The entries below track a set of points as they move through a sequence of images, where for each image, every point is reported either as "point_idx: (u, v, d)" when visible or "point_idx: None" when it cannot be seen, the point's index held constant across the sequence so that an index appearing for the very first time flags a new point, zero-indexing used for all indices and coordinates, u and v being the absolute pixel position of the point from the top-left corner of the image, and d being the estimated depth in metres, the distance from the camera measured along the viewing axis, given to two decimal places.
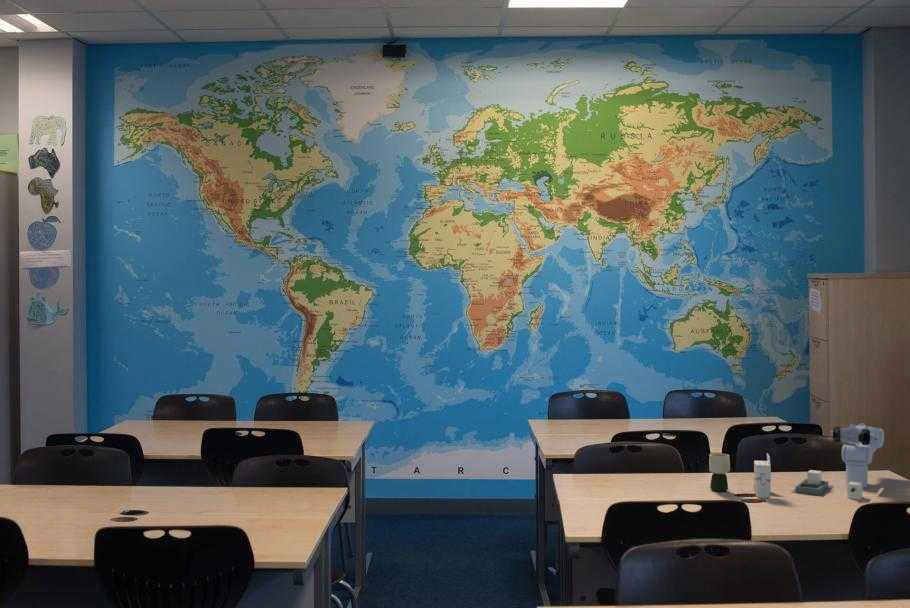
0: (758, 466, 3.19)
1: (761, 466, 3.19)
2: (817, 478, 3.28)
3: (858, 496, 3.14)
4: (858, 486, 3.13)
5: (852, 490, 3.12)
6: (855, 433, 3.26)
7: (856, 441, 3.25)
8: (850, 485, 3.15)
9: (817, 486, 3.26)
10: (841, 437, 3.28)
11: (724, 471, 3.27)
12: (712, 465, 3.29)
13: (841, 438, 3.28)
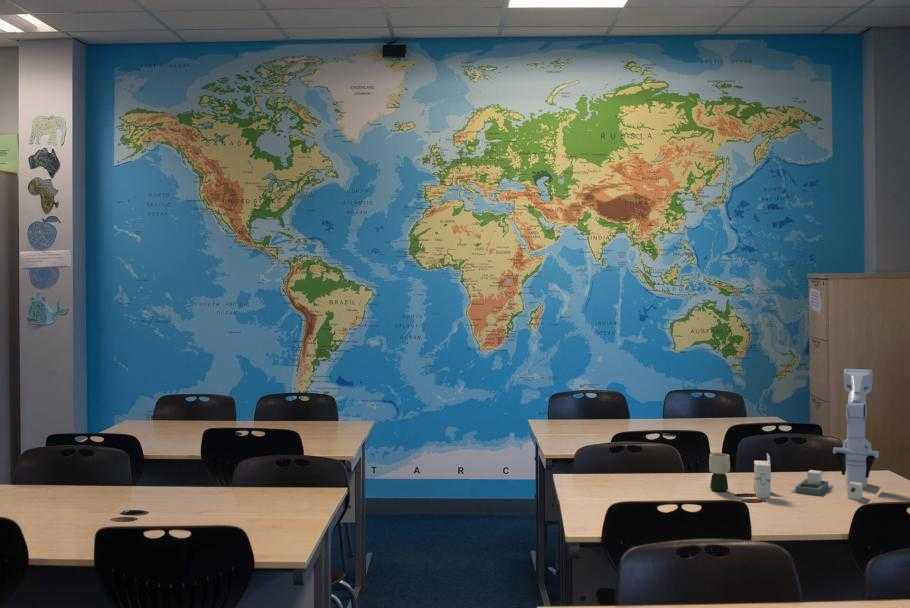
0: (758, 466, 3.19)
1: (761, 466, 3.19)
2: (817, 478, 3.28)
3: (858, 496, 3.14)
4: (858, 486, 3.13)
5: (852, 490, 3.12)
6: None
7: None
8: (850, 485, 3.15)
9: (817, 486, 3.26)
10: None
11: (724, 471, 3.27)
12: (712, 465, 3.29)
13: None
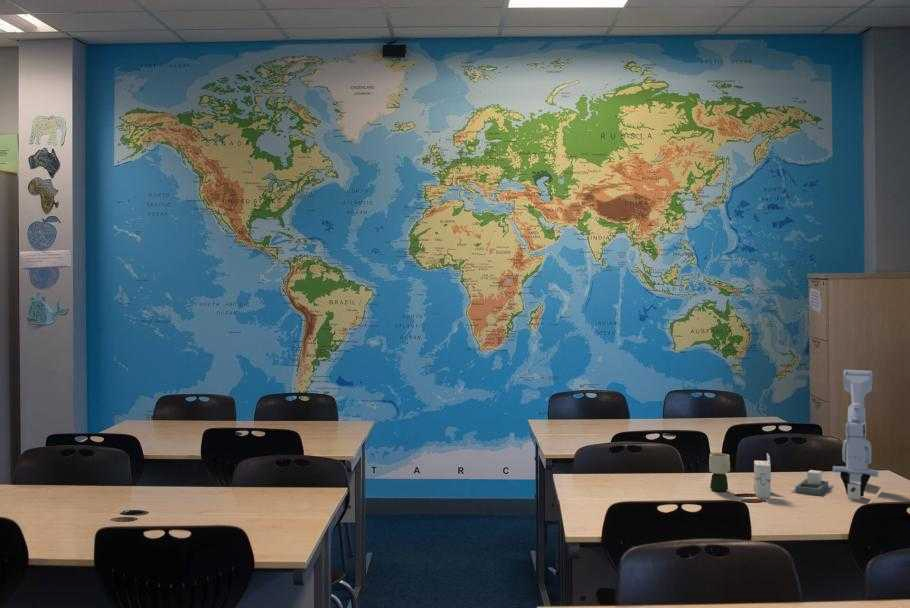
0: (758, 466, 3.19)
1: (761, 466, 3.19)
2: (817, 478, 3.28)
3: (858, 496, 3.14)
4: (858, 486, 3.13)
5: (852, 490, 3.12)
6: None
7: None
8: (850, 485, 3.15)
9: (817, 486, 3.26)
10: (845, 469, 3.19)
11: (724, 471, 3.27)
12: (712, 465, 3.29)
13: None
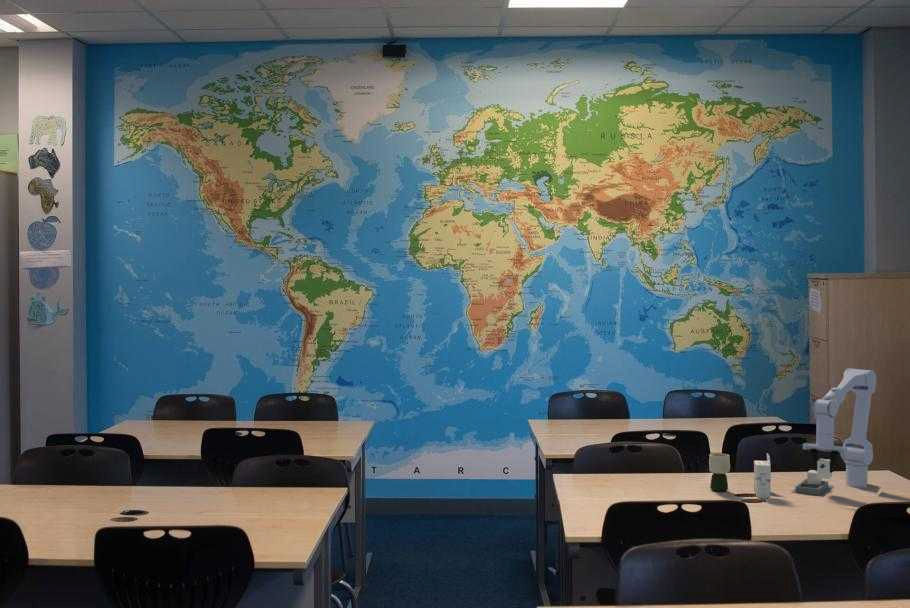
0: (758, 466, 3.19)
1: (761, 466, 3.19)
2: (817, 478, 3.28)
3: (827, 472, 3.19)
4: (827, 463, 3.19)
5: (821, 466, 3.18)
6: None
7: None
8: (820, 462, 3.20)
9: (817, 486, 3.26)
10: (814, 446, 3.24)
11: (724, 471, 3.27)
12: (712, 465, 3.29)
13: None
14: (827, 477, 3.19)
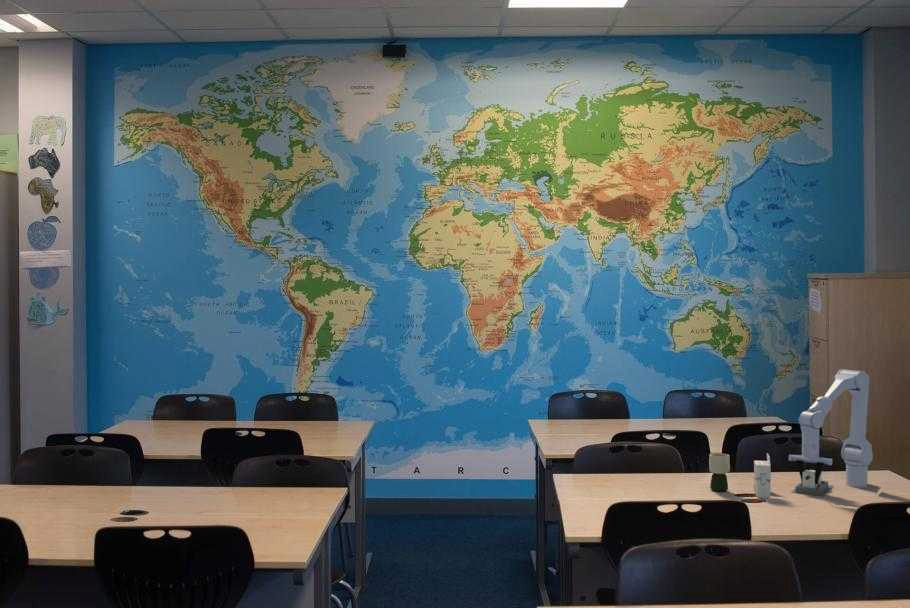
0: (758, 466, 3.19)
1: (761, 466, 3.19)
2: None
3: (812, 484, 3.22)
4: (812, 474, 3.22)
5: (806, 478, 3.20)
6: None
7: None
8: (805, 473, 3.23)
9: (817, 486, 3.26)
10: None
11: (724, 471, 3.27)
12: (712, 465, 3.29)
13: None
14: None
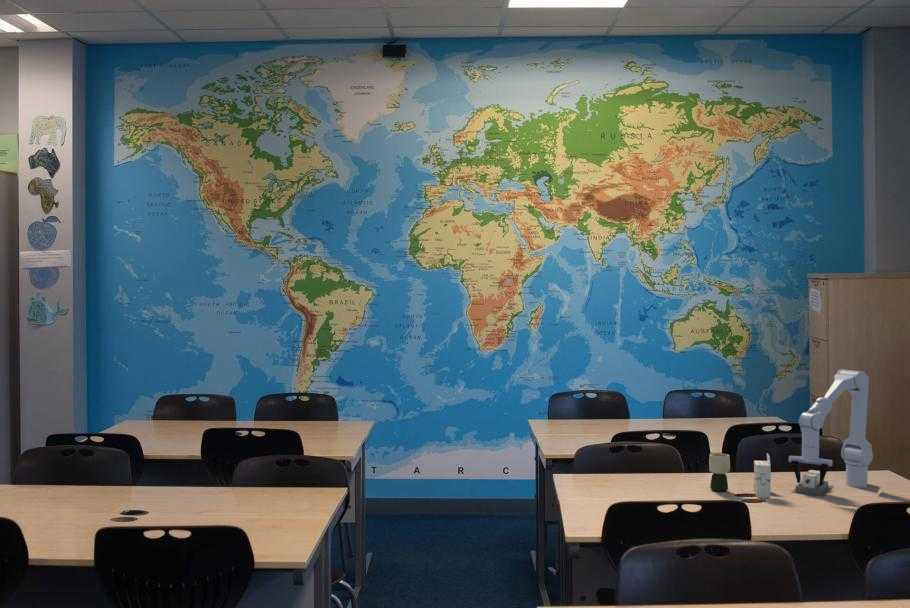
0: (758, 466, 3.19)
1: (761, 466, 3.19)
2: (817, 478, 3.28)
3: (812, 487, 3.22)
4: (812, 478, 3.22)
5: (806, 481, 3.20)
6: None
7: None
8: (805, 477, 3.23)
9: (817, 486, 3.26)
10: None
11: (724, 471, 3.27)
12: (712, 465, 3.29)
13: None
14: None
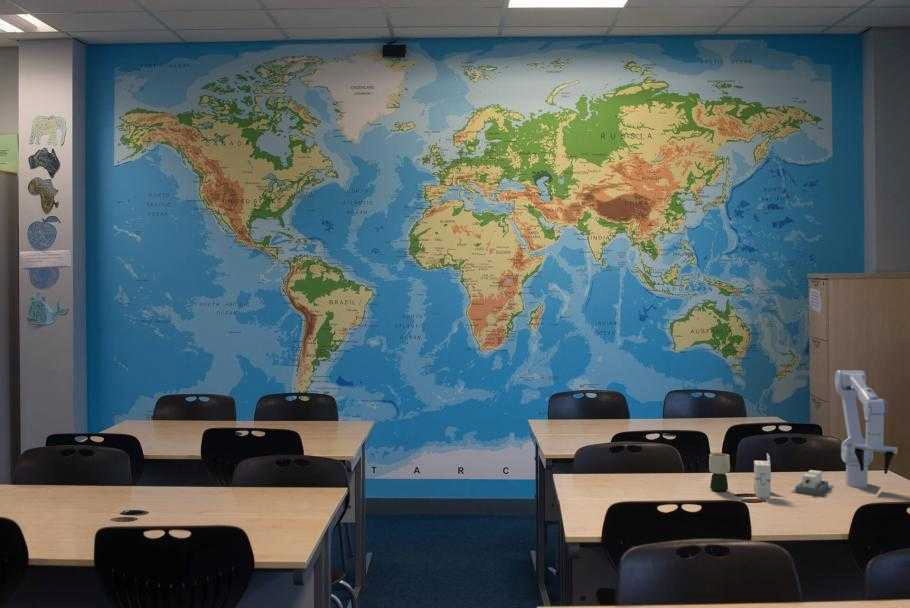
0: (758, 466, 3.19)
1: (761, 466, 3.19)
2: (817, 478, 3.28)
3: (812, 487, 3.22)
4: (812, 478, 3.22)
5: (806, 481, 3.20)
6: None
7: None
8: (805, 477, 3.23)
9: (817, 486, 3.26)
10: None
11: (724, 471, 3.27)
12: (712, 465, 3.29)
13: None
14: None
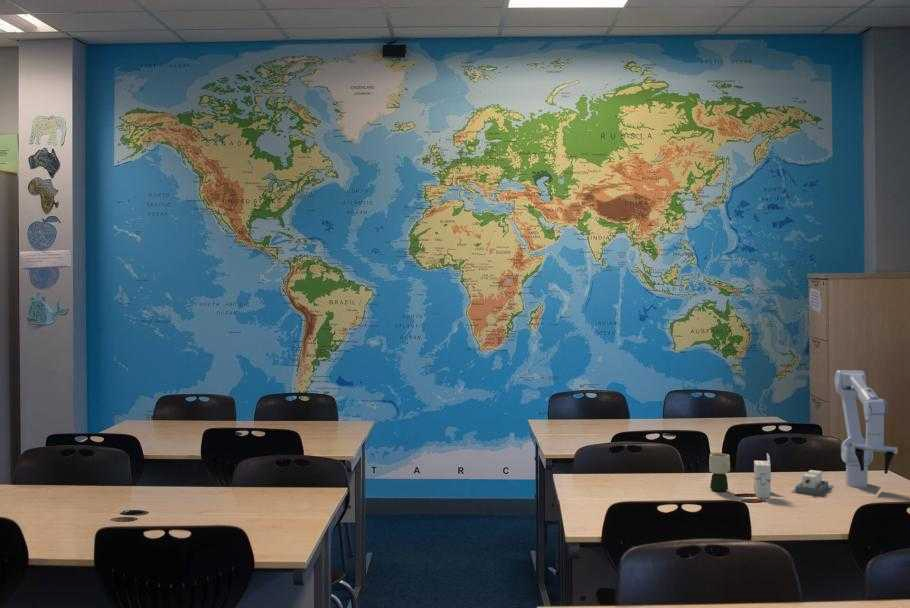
0: (758, 466, 3.19)
1: (761, 466, 3.19)
2: (817, 478, 3.28)
3: (812, 487, 3.22)
4: (812, 478, 3.22)
5: (806, 481, 3.20)
6: None
7: None
8: (805, 477, 3.23)
9: (817, 486, 3.26)
10: None
11: (724, 471, 3.27)
12: (712, 465, 3.29)
13: None
14: None
